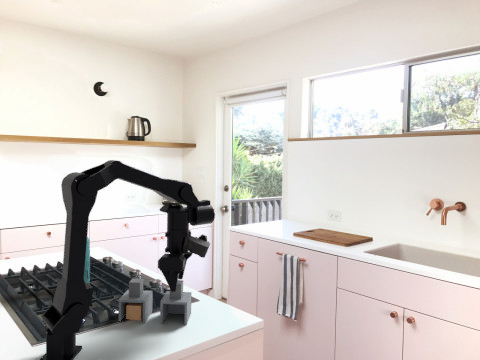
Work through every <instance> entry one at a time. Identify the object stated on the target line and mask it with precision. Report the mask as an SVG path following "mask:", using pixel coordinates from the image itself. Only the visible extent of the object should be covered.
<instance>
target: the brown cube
mask: <svg viewBox="0 0 480 360" xmlns="http://www.w3.org/2000/svg"><path fill="white" fill-rule="evenodd" d="M125 317H126V318H125V320H126V319H130V320H129V321H143V303H132V302H129V303H128V304H127V305H126V316H125Z"/></svg>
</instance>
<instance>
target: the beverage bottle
mask: <svg viewBox="0 0 480 360" xmlns="http://www.w3.org/2000/svg"><path fill="white" fill-rule="evenodd" d="M90 248H91V247H90V238H89V237H88V236H87V246H86V260H85V273H84V281H85V282H86V283H87V284H89V283H90V281H91V258H90V257H91V249H90Z"/></svg>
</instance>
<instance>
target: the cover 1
mask: <svg viewBox="0 0 480 360" xmlns="http://www.w3.org/2000/svg"><path fill="white" fill-rule="evenodd" d="M129 302H132V303H143V318H142V323H143V324H146V322H147V321H148V319H149V317H150V316H151V315H152V312H153V290H144V278H132V279H131V280H129V282H128V289H127V290H126V291H125V292H124V293H123V295H121V296H120V298H118V322H119V321H120V322H119V323H121V322H122V321H123V320H124V319H125V317H126V316H125V314H126V305H127V304H128V303H129ZM124 316H125V317H124ZM123 318H124V319H123ZM122 319H123V320H122ZM121 320H122V321H121Z"/></svg>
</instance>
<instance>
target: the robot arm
mask: <svg viewBox="0 0 480 360" xmlns="http://www.w3.org/2000/svg"><path fill="white" fill-rule="evenodd" d="M116 180H120V181H123V182H126V183H130V184H133V185H136V186H137V187H138V186H139V187H142V188H144V189H147V190H149V191H153V192H155V193H156V194H157V195H159V196H160V197H162V198H164V200H167V201H169V202H165V203H164V204H163V206H161V207H160V208H159V211H160V212H161V213H165V214H167V215H166V220H167V221H166V232H165V233H164V237H165V238H166V247H165V248H164V254H163V255H162V256H161V257H159V259H158V260H157V269H159V271H160V272H161V273H162V275H163V276H164V279H165V280H166V283H167V285H168V287H169V291H170V290H171V291H172V292H175V291H176V288H177V282H178V280H183V278H184V275H185V269H186V265H187V262H188V260H189V259H190V258H191V257H192V255H193V254H194V255H197V256H199V257H200V258H205V257H206V255H207V253H208V250H209V247H210V246H211V242H210V241H208V236H207V235H205V234H200V235H199V237H197V236H192V231H191V230H190V226H189V225H191V226H193V227H194V226H196V227H197V226H201V225H203V226H204V225H208V224H212V223H213V222H214V221H215V218H216V213H215V210H214V208H213V206H212V205H211V200H210V199H209V200H208V199H201V200H199V199H198V197H197V196H196V195H195V192H194V189H193V186H192V184H191V183H189V182H188V181H183V180H177V179H172V178H170V179H169V178H164V177H161V176H158V175H156V174H152V173H150V172H148V171H145V170H142V169H140V168H136V167H134V166H132V165H128V164H125V163H124V162H122V161H121V160H116V159H110V160H109V159H108V160H107V161H105V162H103V163H101V164H99V165H96V166H93V167H91V168H88V169H85V170H83V171H81V172H78V171H77V172H76V171H75V172H70V173H68V174H67V175H65V177H63V178H62V181H61V186H60V187H61V194H62V200H63V204H64V208H65V213H66V218H65V219H66V220H65V231H64V232H65V233H64V246H63V259H62V270H61V272H62V274H61V279H60V280H59V282H58V284H57V286H56V289H55V292H54V296H53V300H52V303H51V305H50V306H49V307H48V308H47V309H46V310H45V311H44V312H43V314H42V315H41V320H42V321H43V323H44V325H45V326H47V328H46V331H45V332H46V333H45V349H46V350H45V351H46V352H45V353H44V354H43V355H42V356H41V357H40V358H39V360H74V359H75V357H76V356H77V355H78V354H79V353H80V351H81V350H83V345H78V344H77V341H76V340H77V339H76V338H77V336H76V335H77V333H79V331H80V330H81V326H82V323H83V321H84V319H85V318H86V317H88V315H89V313H90V310H91V309H90V308H93V306H94V305H93V302H92V301H93V299H92V298H93V295H94V287H92V286H91V285H89V283H86V282H85V281H84V273H85V260H86V246H87V237H88V232H89V217H90V213H91V212H92V209H93V208H94V206H95V203H96V201H97V196H98V192H99V191H100V190H102V189H104V188H106V187H108V186H110V184H112V183H113V182H115V181H116ZM170 202H173V203H177V204H172V203H170ZM183 205H184V206H183ZM185 206H186V207H185Z"/></svg>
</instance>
